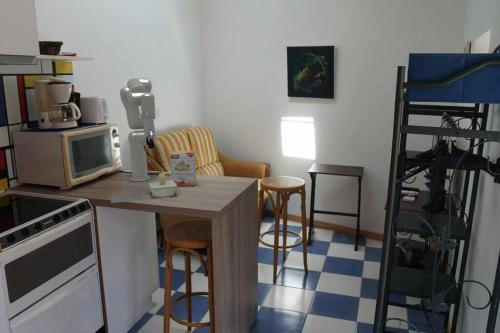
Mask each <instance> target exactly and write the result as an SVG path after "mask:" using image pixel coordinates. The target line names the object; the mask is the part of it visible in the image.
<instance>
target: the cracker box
mask: <svg viewBox="0 0 500 333" xmlns="http://www.w3.org/2000/svg"><path fill="white" fill-rule="evenodd" d="M170 165H171V166H170V167H171V171H170V172H171V180H173V181H174V182H175V184H176V185H177V187H195V186H196V185H197V162H196V151H195V150H192V151H191V150H190V151H189V150H186V151H185V150H172V151H171V152H170Z"/></svg>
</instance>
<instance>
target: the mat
mask: <svg viewBox="0 0 500 333" xmlns="http://www.w3.org/2000/svg"><path fill="white" fill-rule="evenodd" d="M110 200H111V201H110V202H111V204H115V203H125V202H133V201H143V197H142V193H141V192H139V193H138V192H136V193H127V194H119V195H110Z"/></svg>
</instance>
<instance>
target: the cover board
mask: <svg viewBox="0 0 500 333" xmlns="http://www.w3.org/2000/svg"><path fill="white" fill-rule="evenodd" d="M158 180H159V181H152V182H148V185H149V189H151V190H150V191H152V190H160V189H169V188H174V189H178V186H177V185H176V184H175V182H174V181H173V180H172V179H170V180H166V173H164V172H162V173H159V174H158Z"/></svg>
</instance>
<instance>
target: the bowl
mask: <svg viewBox="0 0 500 333" xmlns="http://www.w3.org/2000/svg"><path fill="white" fill-rule="evenodd" d="M151 195H152V196H153V197H155V198H164V197H165V198H166V197H172V196H174V195H175V188H169V189H160V190H151Z"/></svg>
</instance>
